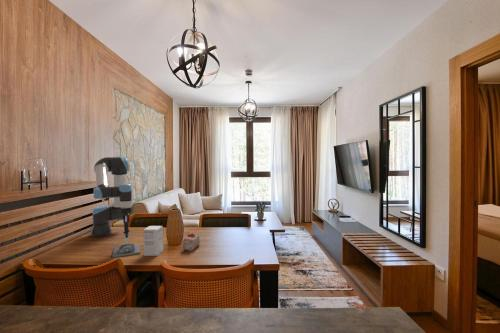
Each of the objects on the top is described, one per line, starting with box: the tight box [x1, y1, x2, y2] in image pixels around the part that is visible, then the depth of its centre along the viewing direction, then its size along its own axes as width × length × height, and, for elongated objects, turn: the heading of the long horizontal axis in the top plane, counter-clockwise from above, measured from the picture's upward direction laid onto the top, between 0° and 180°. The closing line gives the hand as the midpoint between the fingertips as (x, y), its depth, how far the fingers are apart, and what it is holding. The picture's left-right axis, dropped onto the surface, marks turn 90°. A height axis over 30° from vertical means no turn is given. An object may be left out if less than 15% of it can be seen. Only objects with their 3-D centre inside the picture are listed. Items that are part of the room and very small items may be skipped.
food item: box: [182, 233, 200, 252], centre depth 177 cm, size 14×8×10 cm, turn 170°
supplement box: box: [142, 225, 164, 257], centre depth 168 cm, size 10×9×17 cm
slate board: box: [111, 243, 141, 259], centre depth 172 cm, size 18×16×1 cm
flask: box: [118, 243, 135, 253], centre depth 170 cm, size 9×3×11 cm
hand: (126, 242), depth 175 cm, fingers closed
